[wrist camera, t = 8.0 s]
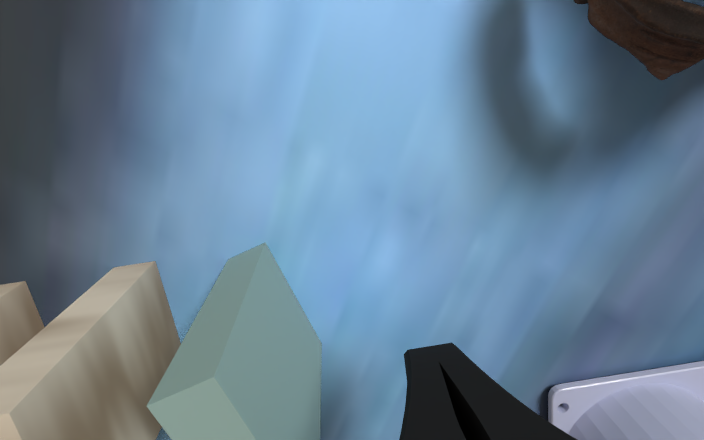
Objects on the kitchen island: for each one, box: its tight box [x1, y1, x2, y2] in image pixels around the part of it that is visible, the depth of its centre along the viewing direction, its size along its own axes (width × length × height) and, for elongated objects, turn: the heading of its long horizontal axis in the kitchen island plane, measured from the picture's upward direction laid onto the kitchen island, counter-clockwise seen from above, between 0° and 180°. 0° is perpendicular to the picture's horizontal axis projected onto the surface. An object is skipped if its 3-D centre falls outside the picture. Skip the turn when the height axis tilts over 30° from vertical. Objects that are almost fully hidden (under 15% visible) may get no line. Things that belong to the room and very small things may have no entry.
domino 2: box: [147, 243, 322, 440], centre depth 13 cm, size 5×2×8 cm, turn 24°
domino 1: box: [0, 261, 181, 440], centre depth 13 cm, size 5×2×8 cm, turn 8°
